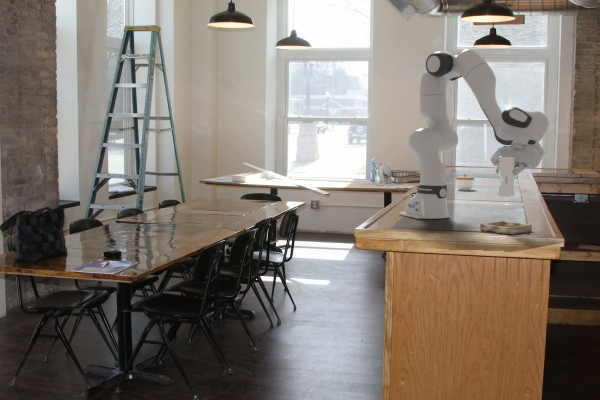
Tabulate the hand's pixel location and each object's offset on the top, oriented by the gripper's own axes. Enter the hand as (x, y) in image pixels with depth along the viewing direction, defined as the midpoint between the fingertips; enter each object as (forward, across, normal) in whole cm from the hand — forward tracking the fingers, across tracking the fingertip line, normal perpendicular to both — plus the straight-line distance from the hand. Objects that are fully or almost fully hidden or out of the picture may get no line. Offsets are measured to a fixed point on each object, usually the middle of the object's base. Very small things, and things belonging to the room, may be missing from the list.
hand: (506, 173), depth 284 cm
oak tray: (+15, 0, +16) cm, 22 cm away
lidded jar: (-61, -115, +93) cm, 160 cm away
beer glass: (+6, 0, +7) cm, 9 cm away
